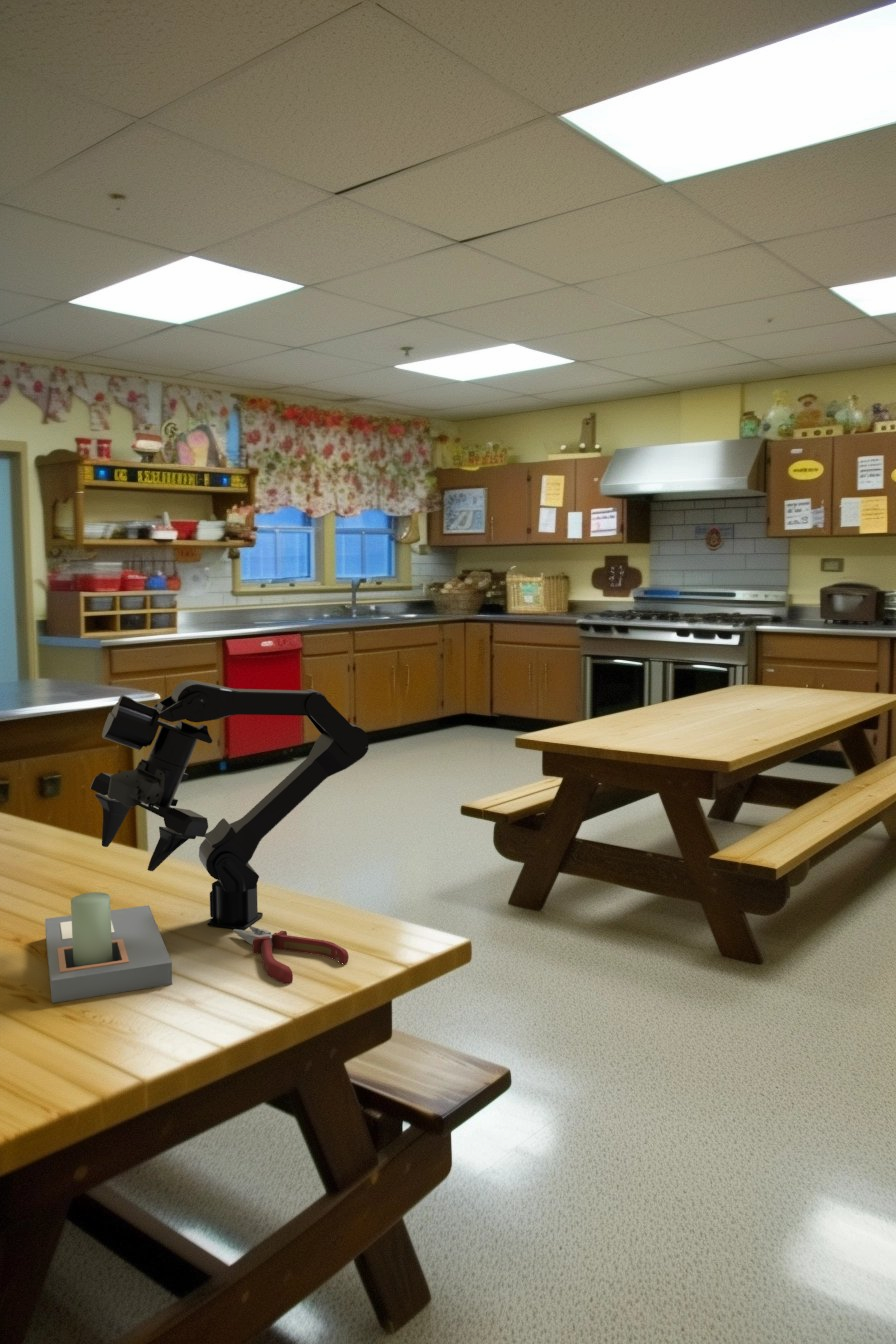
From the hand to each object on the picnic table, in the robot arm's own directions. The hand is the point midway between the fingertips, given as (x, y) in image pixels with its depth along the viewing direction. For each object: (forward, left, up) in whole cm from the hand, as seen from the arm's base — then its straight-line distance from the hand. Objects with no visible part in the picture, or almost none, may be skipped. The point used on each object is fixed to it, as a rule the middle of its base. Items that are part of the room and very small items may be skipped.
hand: (127, 858), depth 151 cm
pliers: (-26, -2, -13) cm, 29 cm away
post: (-4, +14, -12) cm, 19 cm away
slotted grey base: (-2, +8, -12) cm, 15 cm away
